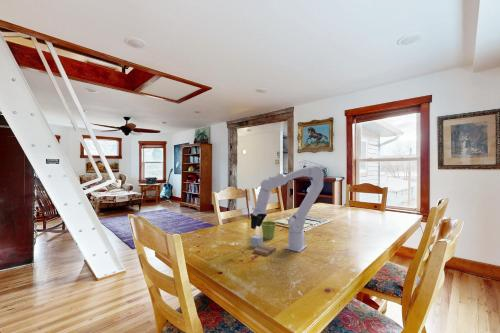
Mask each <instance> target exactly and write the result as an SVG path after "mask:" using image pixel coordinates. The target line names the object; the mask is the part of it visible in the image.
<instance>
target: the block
mask: <svg viewBox="0 0 500 333" xmlns="http://www.w3.org/2000/svg"><path fill="white" fill-rule="evenodd" d="M261 245H264V238H263V235H258V234H255V235H253V236H251V237H250V247H252V248H254V249H255V248H257V247H259V246H261Z"/></svg>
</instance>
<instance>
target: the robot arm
mask: <svg viewBox="0 0 500 333" xmlns="http://www.w3.org/2000/svg"><path fill="white" fill-rule="evenodd" d="M324 176H325V172H324V170H323V169H322V167H320V166H318V165H315V166H314V165H310V166H306V167H302V168H298V169H297V170H294V171H291V172H289V173H287V174H285V173H277V175H274V176H272V177H271V176H269V177H268V178H265V179H263V180H261V182H260V188H259V192H258V194H257V199H256V204H255V206H254V207H253V208H252V210H253V212H252V213H250V215H249V216H250V229H253V230H256V228H257V227H259V228H260V227H262V226H261V224H262V222H264V220H265V218H267V216H268V214H267V207H268V203H269V199H270V196H271V191H272V190H273V189H276V188H278V187H281V186H284V185H286V184H287V183H288V182H289V181H290V180H293V179H298V178H300V177H307V178H308V179H309V180H310V184H311V186H310V188H309V190H308V191H307V193H306V195H305V197H304V199H303V200H302V202H301V203H300V205H299V207H298V209H297V210H296V211H295V212H294V213H293V214H292V216H289V218H288V219H287V224H288V226H289V228H288V235H287V236H288V237H287V238H288V239H287V240H288V242H287V244H288V245H287V246H286V247H285V249H286V250H289V251H293V252H298V253H300V252H301V251H303V250H304V249H306V247H307V245H306V234H305V231H304V226H305V225H304V224H305V223H306V221H307V220H306V217H307V215H308V214H309V212H310V210H311V209H312V208H313V205H314V203H315V202H316V200H317V199H318V197H319V195H320V193H321V192H322V190H323V188H324Z"/></svg>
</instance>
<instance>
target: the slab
mask: <svg viewBox="0 0 500 333" xmlns="http://www.w3.org/2000/svg"><path fill="white" fill-rule="evenodd" d="M275 252H277V248H276V247H274V246H269V245H266V244H263V245H261V246H259V247H257V248H255V247H254V248H253V253H255V254H259V255H261V256H265V257H268V256H270V255H272V254H273V253H275Z"/></svg>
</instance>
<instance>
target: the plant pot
mask: <svg viewBox="0 0 500 333" xmlns="http://www.w3.org/2000/svg"><path fill="white" fill-rule="evenodd" d="M276 226H277V222H276V221H272V220H265V221H264V220H263V222H262V224H261V226H260V227H261V230H262V231H261V232H262V236H263V239H265V240H273V239H274V237H275V231H276Z"/></svg>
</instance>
